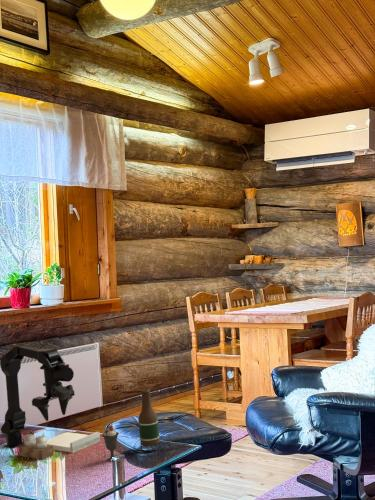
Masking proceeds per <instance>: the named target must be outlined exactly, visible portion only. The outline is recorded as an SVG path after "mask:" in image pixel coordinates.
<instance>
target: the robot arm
mask: <svg viewBox="0 0 375 500" xmlns="http://www.w3.org/2000/svg"><path fill="white" fill-rule="evenodd" d="M24 358H29V359H34V360H36V361H37V362H38V363H39V364H41V366H40V367H39V370H43V378H44V382H43V383H42V385H43V387H45V392H44V393H43V396H37V397H33V398H32V400H31V406H32V407H35V408H37V409H38V411H39V412H40V413H41V415H42V417H43V418H44V420H45V421H46V422H49V407H50V403H49V402H51V401H53V400H57V399H58V403H59V407H60V410H61V414H62V415H63V416H65V415H66V413H67V408H68V405H69V401H71V399H73V397H74V396H75V390H74V387H73V385H71V384H68V385H65V386H63V383H62V382H71V381H72V380H73V378H74V376H75V375H74V369H73V368H72V367H70V364H67V363H66V362H65V361H64V358H63V357H62V355H61V354H60V352H59V351H58V349H56V348H53V347H52V348H38V347H34V346H30V345H25V344H18V345H17V344H16V345H14V346H13V347H12V348H10V350H9V351H7V352H6V353H5V354H4V355H3V356H2V357H1V358H0V370H1V372H2V373H3V374H4V376H5V385H6V396H7V397H6V399H7V410H6V412H5V415H4V422H3V424H2V426H1V427H0V431H1V434H4V435H5V440H6V444H4V445H3V447H6V448H11V449H15V448H18V447H19V446H22V445H24V441H23V440H22V437H23V436H22V432H21V431H22V430H25V425H26V421H27V418H26V411H25V410H23V409H22V408H21V405H20V391H19V377H18V374H19V372H20V370H21V367H22V365H21V364H22V360H23V359H24Z"/></svg>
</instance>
